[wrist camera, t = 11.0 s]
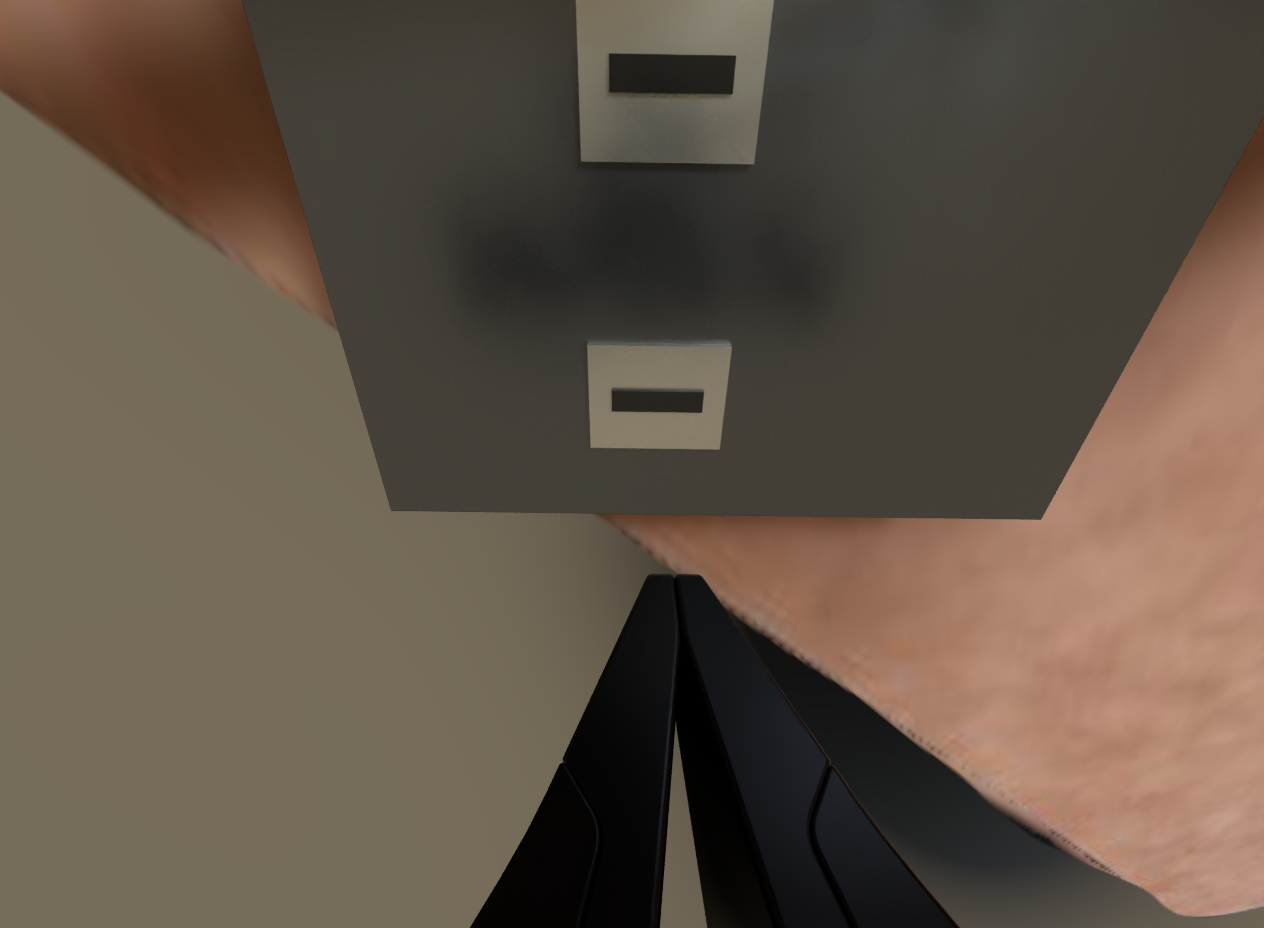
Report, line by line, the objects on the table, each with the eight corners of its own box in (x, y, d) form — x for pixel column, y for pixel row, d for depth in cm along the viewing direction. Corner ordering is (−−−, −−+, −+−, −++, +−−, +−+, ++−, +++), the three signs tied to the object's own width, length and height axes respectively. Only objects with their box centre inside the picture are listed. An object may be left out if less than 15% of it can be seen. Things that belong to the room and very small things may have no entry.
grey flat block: (1319, -365, 10) (1692, -619, 7) (973, 450, 20) (1047, 526, 17) (248, -387, 10) (35, -657, 7) (431, 443, 20) (387, 516, 16)
